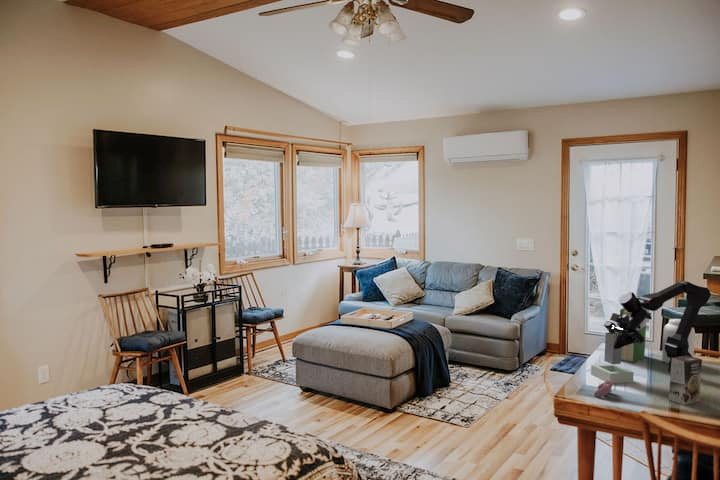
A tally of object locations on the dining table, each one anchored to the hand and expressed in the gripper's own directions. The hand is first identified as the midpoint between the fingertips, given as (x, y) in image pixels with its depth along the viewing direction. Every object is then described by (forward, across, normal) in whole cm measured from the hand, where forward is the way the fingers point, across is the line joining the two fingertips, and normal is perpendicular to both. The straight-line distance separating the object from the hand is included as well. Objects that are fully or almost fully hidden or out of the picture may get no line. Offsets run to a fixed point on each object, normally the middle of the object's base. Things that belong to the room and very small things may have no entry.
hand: (610, 346), depth 229 cm
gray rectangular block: (+4, 0, +6) cm, 7 cm away
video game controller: (+20, +17, -1) cm, 27 cm away
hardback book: (-12, -24, +32) cm, 42 cm away
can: (-24, -14, +43) cm, 51 cm away
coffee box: (+2, +29, +17) cm, 33 cm away
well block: (+8, 0, +10) cm, 13 cm away
